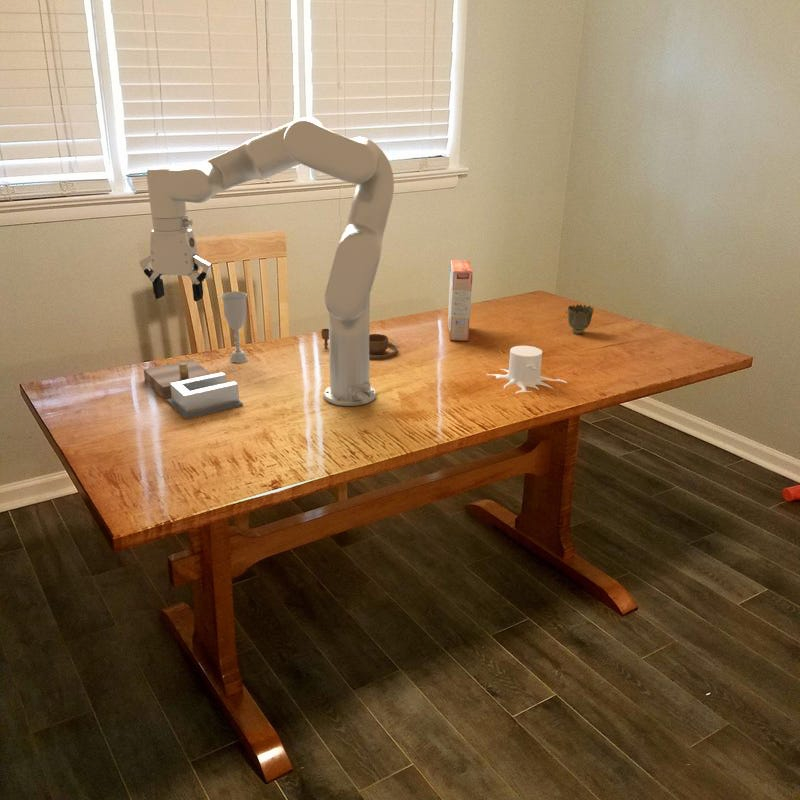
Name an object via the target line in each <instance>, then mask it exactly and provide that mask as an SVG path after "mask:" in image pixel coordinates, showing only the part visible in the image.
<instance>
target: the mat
mask: <svg viewBox="0 0 800 800" xmlns="http://www.w3.org/2000/svg"><path fill="white" fill-rule="evenodd" d="M166 402H167V403H168V404H169V405H170V406H171V407H172V408H174V409H173V410H175V411H176V412H177V413H178V414H179V415H180V416H182V417H183V419H185V420H189V419H192V418H197V417H201V416H202V417H203V416H205V415H209V414H213V413H218V412H223V411H227V410H230V409H235V408H239V406H240V407H243V406H244V403H243V402H241V401H240V400H239V402H235V403H231V404H227V405H222V406H218V407H214V408H210V409H205V410H201V411H197V412H193V413H188V414H186V413H185V412H184V411H182V410H181V409H180V408H179V407H178V406H177V405H176V404H175V403H174V402H173V401H172V397H170V398H166ZM242 405H243V406H242ZM222 410H223V411H222Z"/></svg>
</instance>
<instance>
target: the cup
mask: <svg viewBox="0 0 800 800" xmlns="http://www.w3.org/2000/svg"><path fill="white" fill-rule="evenodd" d="M593 312H594V307H593V306H590V305H588V306H587V305H586V304H584V305H582V304H578V303H577V304H576V305H575V304H573V305H568V306H567V313H568V314H567V315H568V316H567V319H568V325H569V326H570V328H572V329H571V332H572V333H573V334H575V335H583V334H584V333H585V331H586V330H585V329H587V328H588V327H589V326H590V324H591V321H592V317H593Z"/></svg>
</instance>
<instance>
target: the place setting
mask: <svg viewBox="0 0 800 800" xmlns="http://www.w3.org/2000/svg"><path fill="white" fill-rule="evenodd" d="M320 332H321V339H322V340H324V342H323V343H324V344H323V345H324V348H328V349H329V342H328V341H329V328H322V329H321V331H320ZM324 348H323V349H324ZM399 348H400V346H398V345H396V344H393V343H392V342H391V341H389V337H388V336H387V335H385V334H380V333H370V335H369V360H384V359H390V358H392V357H394V356H396V354H397V353H398V349H399ZM388 349H389V350H392V352H391V353H387V354H383V352H385V351H387V350H388ZM381 354H382V355H381Z"/></svg>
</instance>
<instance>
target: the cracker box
mask: <svg viewBox="0 0 800 800" xmlns="http://www.w3.org/2000/svg"><path fill="white" fill-rule="evenodd" d="M449 268H450V269H449V270H450V271H449V289H448V290H449V291H448V311H447V312H448V313H447V315H448V316H447V331H448V337H449V341H461V342H468V341H469V339H470V323H471V322H470V321H471V319H470V318H471V305H472V304H471V303H472V290H473V289H472V287H473V272H474V271H473V269H472V266H471V262H470V260H467V259H462V260H461V259H459V260H458V259H451V260H450V267H449Z"/></svg>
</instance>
